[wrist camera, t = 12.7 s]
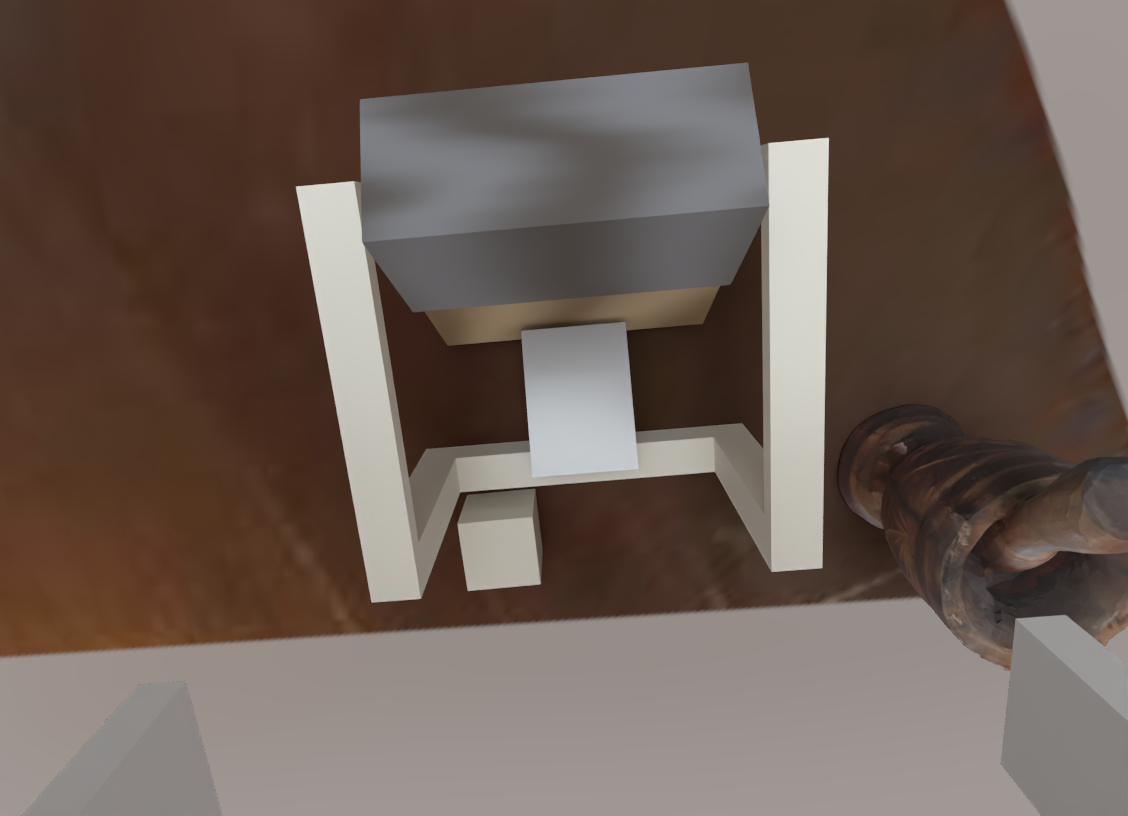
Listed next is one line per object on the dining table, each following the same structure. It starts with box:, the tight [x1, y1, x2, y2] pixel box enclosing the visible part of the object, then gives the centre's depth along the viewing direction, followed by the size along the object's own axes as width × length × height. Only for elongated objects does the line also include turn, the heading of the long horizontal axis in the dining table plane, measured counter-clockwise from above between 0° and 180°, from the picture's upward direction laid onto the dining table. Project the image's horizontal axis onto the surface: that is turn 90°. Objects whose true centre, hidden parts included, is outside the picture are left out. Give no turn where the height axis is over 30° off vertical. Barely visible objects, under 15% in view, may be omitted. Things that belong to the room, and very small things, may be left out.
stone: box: [521, 322, 639, 477], centre depth 36 cm, size 5×5×7 cm
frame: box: [296, 138, 829, 603], centre depth 32 cm, size 18×16×13 cm
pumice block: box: [457, 489, 543, 591], centre depth 40 cm, size 4×4×4 cm
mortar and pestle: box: [838, 405, 1128, 670], centre depth 31 cm, size 12×9×20 cm
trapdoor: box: [360, 63, 769, 346], centre depth 27 cm, size 13×18×4 cm
